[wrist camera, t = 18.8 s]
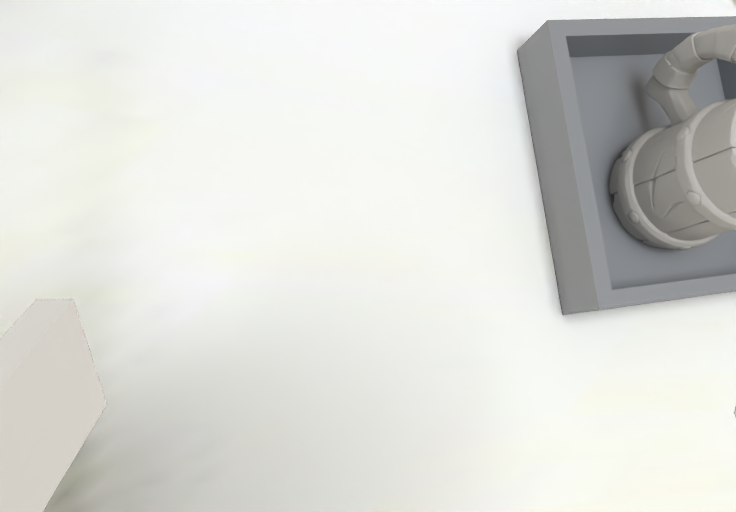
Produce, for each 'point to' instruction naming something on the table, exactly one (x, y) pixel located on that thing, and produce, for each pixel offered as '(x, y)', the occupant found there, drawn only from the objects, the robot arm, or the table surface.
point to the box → (612, 156)
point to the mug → (682, 155)
